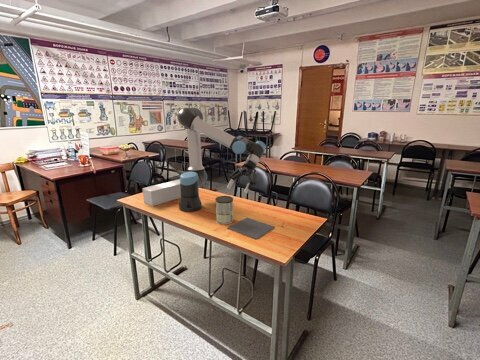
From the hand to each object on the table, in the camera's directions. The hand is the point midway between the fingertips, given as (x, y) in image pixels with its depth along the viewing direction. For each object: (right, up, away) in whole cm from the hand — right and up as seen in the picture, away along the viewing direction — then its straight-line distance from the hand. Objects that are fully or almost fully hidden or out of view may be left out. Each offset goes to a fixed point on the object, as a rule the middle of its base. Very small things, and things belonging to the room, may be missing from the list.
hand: (236, 191), depth 161 cm
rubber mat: (+9, -20, -13) cm, 25 cm away
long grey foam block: (-51, -7, +34) cm, 62 cm away
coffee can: (-7, -18, -3) cm, 19 cm away
